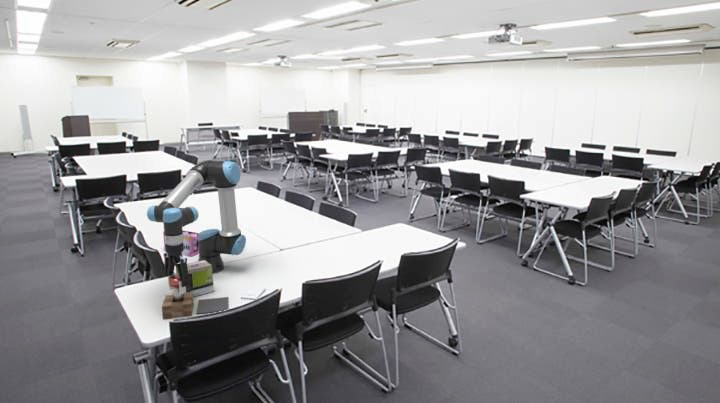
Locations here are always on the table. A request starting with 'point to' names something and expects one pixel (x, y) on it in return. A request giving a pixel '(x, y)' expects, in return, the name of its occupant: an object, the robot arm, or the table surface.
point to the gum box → (189, 243)
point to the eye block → (177, 306)
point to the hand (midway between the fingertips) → (177, 290)
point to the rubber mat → (212, 305)
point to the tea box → (199, 278)
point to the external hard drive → (253, 293)
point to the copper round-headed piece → (175, 287)
